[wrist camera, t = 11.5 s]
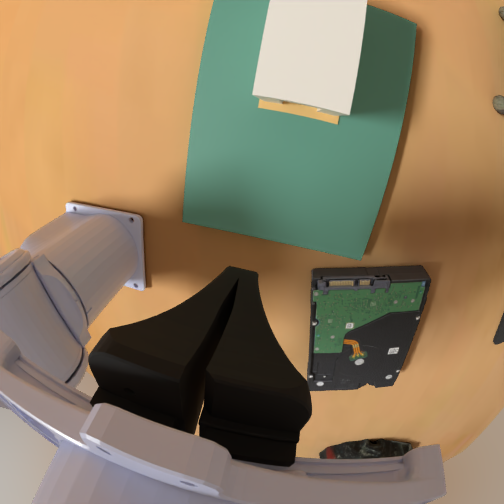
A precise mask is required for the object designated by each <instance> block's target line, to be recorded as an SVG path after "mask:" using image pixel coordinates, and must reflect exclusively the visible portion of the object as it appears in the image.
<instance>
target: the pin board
mask: <svg viewBox="0 0 504 504" xmlns="http://www.w3.org/2000/svg"><path fill="white" fill-rule="evenodd" d="M269 2H270V0H214V2H213V6H212V10H211V14H210V19H209V23H208V28H207V33H206V37H205V42H204V47H203V52H202V58H201V63H200V69H199V75H198V81H197V87H196V93H195V100H194V107H193V114H192V122H191V130H190V138H189V147H188V157H187V167H186V178H185V191H184V205H183V221H182V222H185V223H190V224H195V225H200V226H205V227H210V228H215V229H219V230H224V231H229V232H234V233H238V234H243V235H248V236H253V237H257V238H262V239H266V240H271V241H276V242H280V243H285V244H289V245H294V246H298V247H303V248H308V249H312V250H316V251H321V252H325V253H330V254H334V255H339V256H343V257H347V258H352V259H356V260H360V261H361V259H362V256H363V254H364V251H365V248H366V246H367V243H368V240H369V237H370V235H371V232H372V229H373V226H374V223H375V220H376V217H377V214H378V211H379V208H380V205H381V202H382V199H383V196H384V192H385V189H386V186H387V182H388V179H389V175H390V172H391V168H392V164H393V161H394V157H395V153H396V149H397V145H398V141H399V137H400V132H401V128H402V123H403V118H404V114H405V109H406V103H407V98H408V92H409V86H410V80H411V73H412V66H413V58H414V49H415V39H416V26H417V24H415V23H413V22H411V21H409V20H407V19H404V18H402V17H399V16H397V15H394V14H392V13H389V12H387V11H384V10H381V9H378V8H376V7H373V6H370V5H367V7H366V16H365V25H364V32H363V40H362V47H361V54H360V60H359V66H358V72H357V78H356V84H355V89H354V95H353V100H352V105H351V110H350V115H343V116H333V115H329V114H325V113H321V112H317V108H315V107H311V106H306V105H302V104H297V103H292V102H286V101H283V104H278V103H272V102H266V101H263V100H261V99H259V98H257V97H255V96H254V95H252V93H253V87H254V82H255V76H256V70H257V65H258V59H259V54H260V48H261V43H262V38H263V32H264V27H265V22H266V17H267V12H268V7H269Z"/></svg>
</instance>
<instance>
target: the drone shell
mask: <svg viewBox="0 0 504 504" xmlns="http://www.w3.org/2000/svg"><path fill="white" fill-rule="evenodd" d="M375 442H377V443H378V444H372V443H370V441H369V440H368V439H365V440H361V441H351V442H345V443H342V444H339V445H334V446H329V447H327V448H325V449H324V450H323V451H321V452H320V454H319V455H320V459H373V458H387V457H398V456H404V455H405V454H406V453H407V452H409V451H410V450H412V449H413V448H412V447H411V444H409V443H403V442H397V441H390V440H384V439H378V440H376V441H375Z"/></svg>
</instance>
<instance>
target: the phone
mask: <svg viewBox="0 0 504 504" xmlns="http://www.w3.org/2000/svg"><path fill="white" fill-rule="evenodd" d="M493 342H494V344H500V343H502V342H504V313H503V316H502V318H501V321H500V324H499V326H498V329H497V332H496V334H495V336H494V339H493Z"/></svg>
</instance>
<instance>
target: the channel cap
mask: <svg viewBox="0 0 504 504" xmlns="http://www.w3.org/2000/svg"><path fill="white" fill-rule="evenodd" d="M366 7H367V0H270V2H269V7H268V12H267V17H266V22H265V27H264V32H263V38H262V43H261V48H260V54H259V59H258V65H257V70H256V76H255V82H254V87H253V93H252V95H254V96H255V97H257V98H259V99H261V100H263V101H266V102H272V103H278V104H283V101H286V102H292V103H297V104H302V105H306V106H311V107H315V108H317V112H321V113H325V114H329V115H333V116H343V115H350V110H351V105H352V100H353V95H354V89H355V84H356V78H357V72H358V66H359V60H360V54H361V47H362V40H363V32H364V25H365V16H366Z"/></svg>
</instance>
